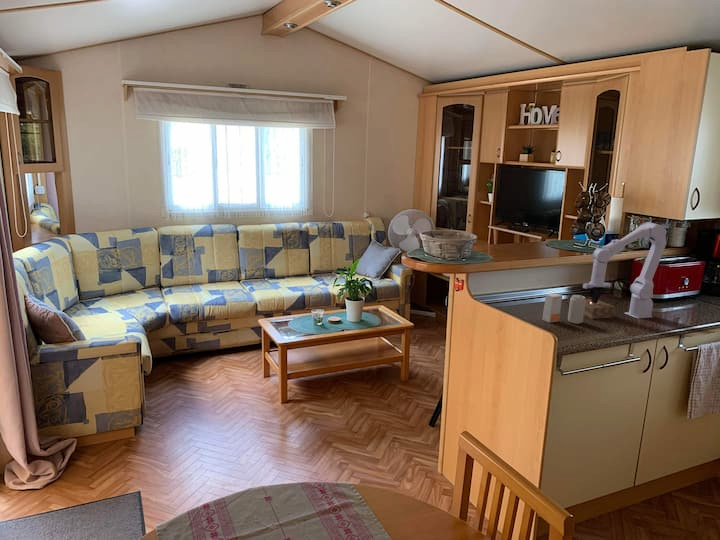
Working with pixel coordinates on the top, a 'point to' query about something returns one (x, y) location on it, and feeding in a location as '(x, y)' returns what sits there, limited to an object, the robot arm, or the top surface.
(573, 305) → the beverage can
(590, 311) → the band block
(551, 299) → the skincare box
